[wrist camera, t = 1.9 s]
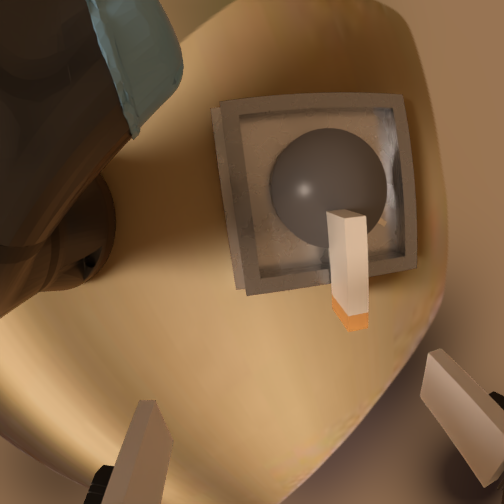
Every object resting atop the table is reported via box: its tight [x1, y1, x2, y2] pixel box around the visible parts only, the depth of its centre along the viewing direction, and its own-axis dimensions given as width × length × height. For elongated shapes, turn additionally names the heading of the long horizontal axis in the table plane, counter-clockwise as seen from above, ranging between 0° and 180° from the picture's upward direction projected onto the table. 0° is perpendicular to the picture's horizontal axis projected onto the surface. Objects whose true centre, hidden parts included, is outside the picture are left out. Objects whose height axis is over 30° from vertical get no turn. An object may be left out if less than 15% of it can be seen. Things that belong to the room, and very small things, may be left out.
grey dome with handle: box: [270, 128, 387, 332], centre depth 26 cm, size 17×11×7 cm, turn 7°
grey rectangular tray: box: [211, 92, 417, 296], centre depth 28 cm, size 20×18×3 cm
